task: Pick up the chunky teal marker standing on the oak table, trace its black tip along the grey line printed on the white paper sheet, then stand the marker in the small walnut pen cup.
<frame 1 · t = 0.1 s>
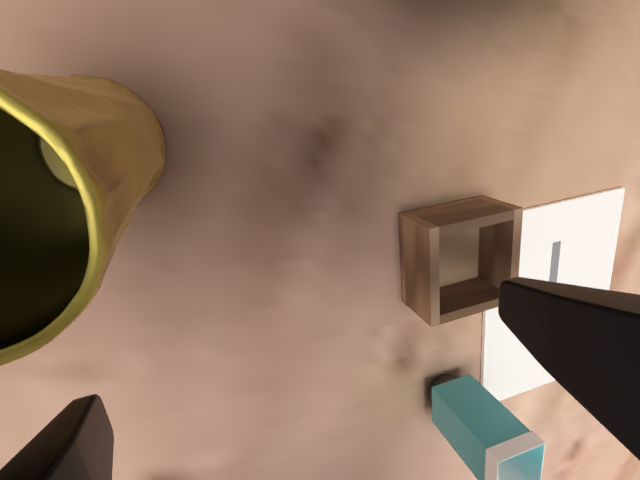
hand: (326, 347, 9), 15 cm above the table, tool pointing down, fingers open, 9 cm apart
vase: (97, 145, 19), on the table
pen cup: (442, 248, 27), on the table
paper: (547, 300, 32), on the table
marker: (441, 387, 31), on the table
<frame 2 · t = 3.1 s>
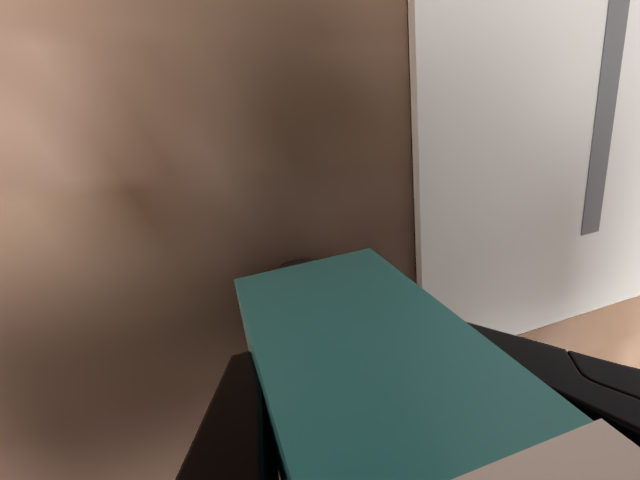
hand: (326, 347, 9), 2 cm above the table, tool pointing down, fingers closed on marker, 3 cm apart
paper: (600, 63, 11), on the table
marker: (300, 301, 11), on the table, touching gripper
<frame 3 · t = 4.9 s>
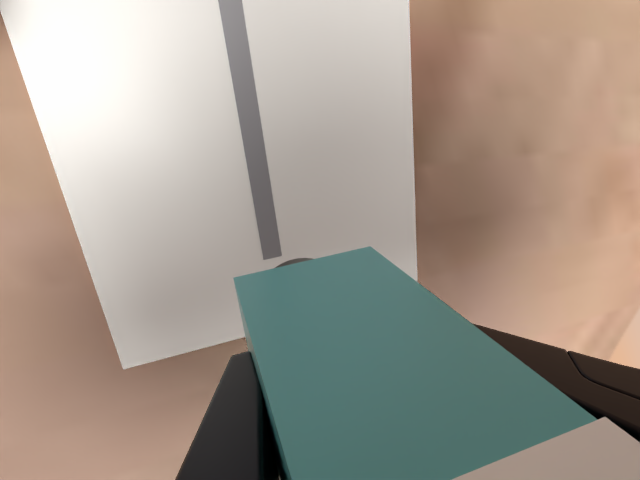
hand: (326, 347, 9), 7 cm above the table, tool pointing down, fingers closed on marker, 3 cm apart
paper: (248, 118, 14), on the table
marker: (299, 300, 11), point 5 cm above the table, touching gripper
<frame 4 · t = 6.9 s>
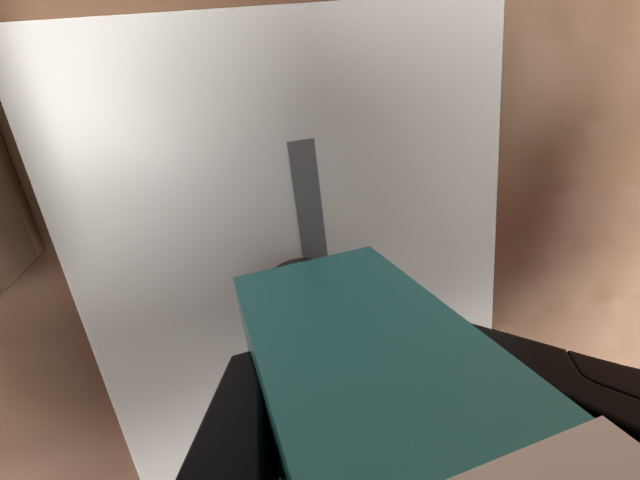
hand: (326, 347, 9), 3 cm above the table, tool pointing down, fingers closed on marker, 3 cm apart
paper: (319, 309, 12), on the table
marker: (299, 300, 11), point 1 cm above the table, touching gripper
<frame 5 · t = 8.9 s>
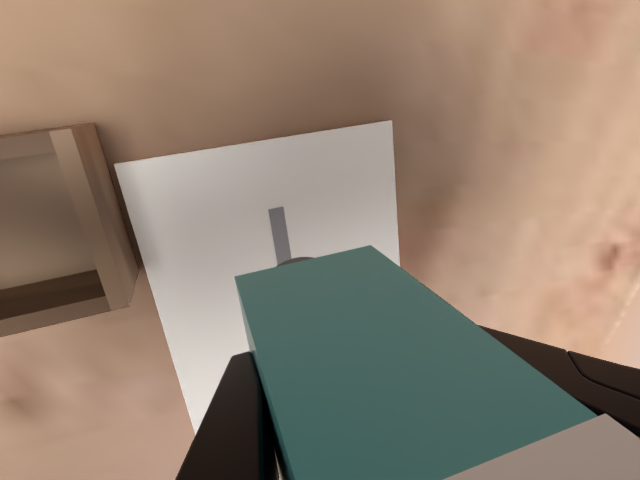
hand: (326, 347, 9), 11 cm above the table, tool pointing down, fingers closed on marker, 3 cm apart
pen cup: (32, 216, 16), on the table
paper: (290, 301, 20), on the table
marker: (300, 299, 11), point 9 cm above the table, touching gripper
when the fingers open (4 cm above the table, at t = 10.9 s): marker drops 1 cm, resting on pen cup.
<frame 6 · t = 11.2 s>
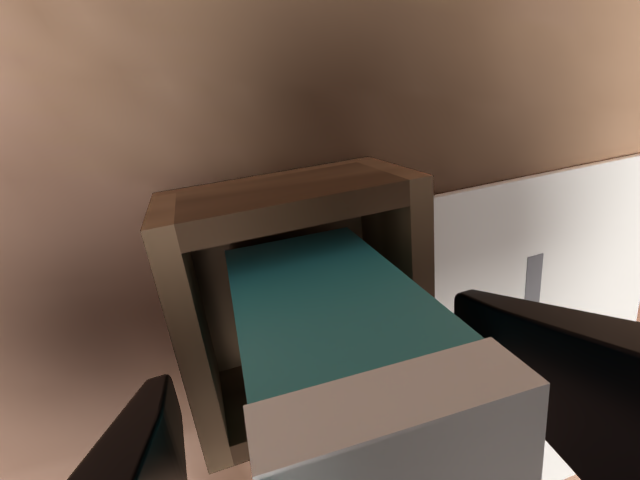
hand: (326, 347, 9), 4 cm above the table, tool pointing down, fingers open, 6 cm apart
pen cup: (283, 272, 13), on the table
paper: (520, 361, 17), on the table
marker: (287, 277, 12), point 1 cm above the table, touching pen cup
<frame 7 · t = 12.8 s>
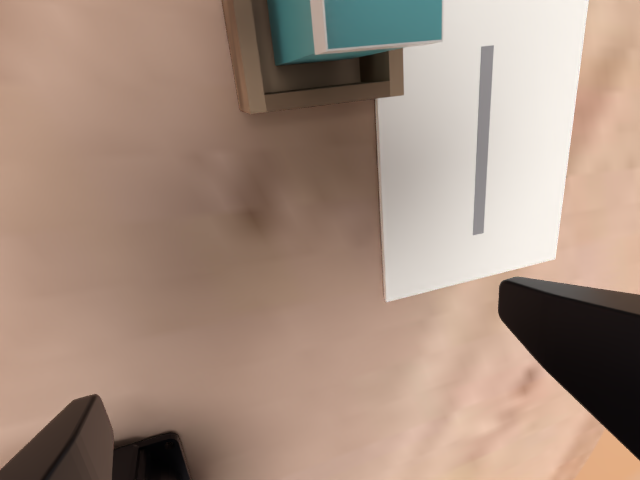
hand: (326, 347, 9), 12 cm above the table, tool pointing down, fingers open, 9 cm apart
pen cup: (298, 26, 18), on the table
paper: (478, 147, 22), on the table
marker: (301, 23, 17), point 1 cm above the table, touching pen cup
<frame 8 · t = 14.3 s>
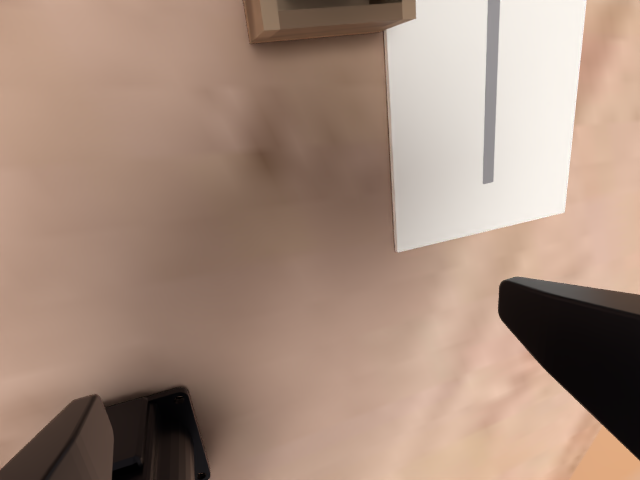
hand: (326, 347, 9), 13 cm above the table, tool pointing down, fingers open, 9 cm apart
paper: (487, 92, 22), on the table
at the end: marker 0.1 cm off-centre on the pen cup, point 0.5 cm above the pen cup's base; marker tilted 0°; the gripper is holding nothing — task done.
